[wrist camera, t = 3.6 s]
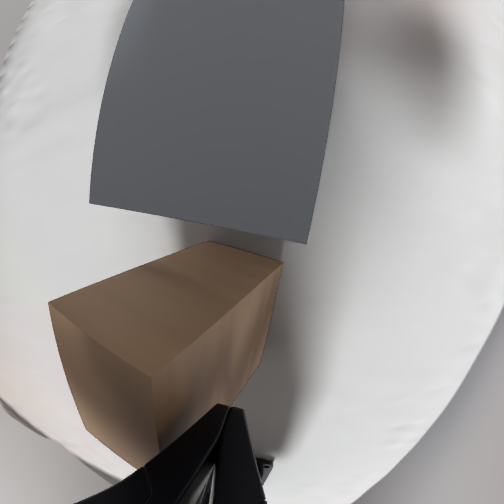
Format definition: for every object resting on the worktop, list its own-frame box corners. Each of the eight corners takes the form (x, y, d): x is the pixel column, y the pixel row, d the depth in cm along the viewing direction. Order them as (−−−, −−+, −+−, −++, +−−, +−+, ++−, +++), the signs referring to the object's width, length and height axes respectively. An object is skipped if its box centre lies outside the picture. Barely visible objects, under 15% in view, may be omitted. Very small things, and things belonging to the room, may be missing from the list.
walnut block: (260, 362, 15) (166, 487, 6) (198, 336, 16) (85, 429, 8) (284, 261, 13) (151, 377, 5) (209, 240, 14) (48, 302, 6)
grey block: (298, 196, 13) (306, 244, 4) (216, 182, 13) (89, 203, 5) (319, 78, 11) (346, -50, 2) (237, 67, 11) (156, -48, 3)
